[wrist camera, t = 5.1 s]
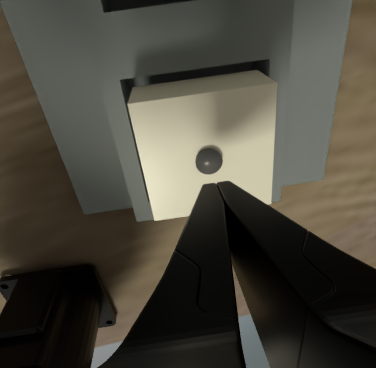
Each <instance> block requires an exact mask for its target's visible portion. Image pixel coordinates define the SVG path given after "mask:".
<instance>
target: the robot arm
mask: <svg viewBox="0 0 376 368" xmlns="http://www.w3.org/2000/svg"><path fill="white" fill-rule="evenodd" d="M232 265H233V268H234V270H235V273H236V276H237V278H238V281H239V284H240V287H241V289H242V292H243V295H244V297H245V300H246V303H247V306H248V308H249V311H250V314H251V316H252V319H253V322H254V324H255V327H256V330H257V333H258V335H259V338H260V341H261V343H262V346H263V349H264V351H265V354H266V357H267V360H268V362H269V365H270V368H376V269H375V268H373V267H371V266H369V265H367V264H366V263H364V262H362V261H360V260H358V259H356V258H354V257H352V256H351V255H349V254H347V253H345V252H343V251H341V250H339V249H338V248H336V247H334V246H333V245H331V244H329V243H328V242H326V241H324V240H323V239H321V238H319V237H318V236H316V235H315V234H313V233H312V232H310V231H308V232H307V229H305V228H303V227H302V226H300V225H299V224H297V223H296V222H294V221H292V220H291V219H289V218H288V217H286V216H284V215H283V214H281V213H280V212H278V211H277V210H275V209H273V208H272V207H270V206H269V205H267V204H266V203H264V202H262V201H261V200H259V199H258V198H256V197H254V196H253V195H251V194H250V193H248V192H247V191H245V190H243V189H242V188H240V187H239V186H237V185H236V184H234V183H232V182H231V181H222V182H217V184H216V183H208V184H203V185H202V187H201V189H200V192H199V194H198V196H197V199H196V201H195V203H194V206H193V208H192V210H191V213H190V215H189V218H188V220H187V222H186V225H185V227H184V229H183V232H182V234H181V236H180V239H179V241H178V243H177V246H176V248H175V251H174V252H173V255H172V257H171V259H170V262H169V264H168V266H167V268H166V270H165V272H164V274H163V276H162V278H161V280H160V282H159V283H158V285H157V287H156V289H155V290H154V292H153V294H152V295H151V297H150V299H149V300H148V302H147V303H146V305H145V307H144V308H143V310H142V312H141V313H140V315H139V316H138V318H137V320H136V321H135V323H134V325H133V326H132V328H131V329H130V331H129V333H128V334H127V336H126V338H125V339H124V341H123V342H122V344H121V345H120V346H119V347H118V349H117V350H116V351H115V352H114V353H113V355H112V356H111V357H110V358H109V359H108V360H107V361H106V362H104V363H103V364H102V365H100V366H99V367H98V368H246V364H245V359H244V354H243V349H242V344H241V337H240V329H239V322H238V312H237V304H236V296H235V287H234V279H233V270H232ZM0 292H1V294H2V295H3V297H4V298H5V299H6V301H7V302H6V304H5V306H4V308H3V310H2V312H1V313H0V368H91V363H92V358H93V353H94V347H95V342H96V337H97V332H98V328H101V327H108V326H113V325H115V323H116V315H115V312H114V310H113V307H112V305H111V303H110V300H109V298H108V296H107V293H106V291H105V289H104V286H103V284H102V282H101V279H100V277H99V274H98V272H97V270H96V268H95V267H94V266H93V265H80V266H73V267H66V268H60V269H53V270H46V271H39V272H32V273H26V274H19V275H12V276H5V277H1V278H0Z"/></svg>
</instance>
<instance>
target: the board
mask: <svg viewBox="0 0 376 368" xmlns="http://www.w3.org/2000/svg"><path fill="white" fill-rule="evenodd" d="M0 4H1V7H2V9H3V12H4V14H5V17H6V19H7V22H8V24H9V27H10V29H11V32H12V34H13V37H14V39H15V42H16V44H17V47H18V49H19V52H20V55H21V57H22V60H23V62H24V65H25V67H26V70H27V72H28V75H29V77H30V80H31V82H32V85H33V87H34V90H35V92H36V95H37V97H38V100H39V102H40V105H41V107H42V110H43V112H44V115H45V117H46V120H47V122H48V125H49V127H50V130H51V132H52V135H53V138H54V140H55V143H56V145H57V148H58V150H59V153H60V155H61V158H62V160H63V163H64V165H65V168H66V170H67V173H68V175H69V178H70V180H71V183H72V185H73V188H74V190H75V193H76V195H77V198H78V200H79V203H80V205H81V208H82V210H83V213H84V215H86V214H93V213H100V212H107V211H114V210H120V209H127V208H133V210H134V213H135V217H136V221H137V222H140V221H147V220H154V217H153V213H152V208H151V204H150V200H149V195H148V191H147V187H146V182H145V178H144V174H143V169H142V165H141V161H140V156H139V152H138V148H137V144H136V139H135V135H134V131H133V126H132V122H131V118H130V113H129V109H128V105H127V104H128V101H129V97H130V94H131V91H132V88H133V87H138V86H145V85H152V84H160V83H167V82H174V81H181V80H188V79H195V78H202V77H209V76H216V75H224V74H231V73H238V72H245V71H252V70H258V71H260V72H261V73H263V74H265V75H266V76H268V77H269V78H271V79H272V80H274V81H275V82H277V102H276V121H275V141H274V160H273V179H272V199H271V202H277V201H280V195H281V186H285V185H292V184H299V183H306V182H313V181H319V180H323V177H324V171H325V165H326V159H327V153H328V147H329V141H330V135H331V128H332V122H333V116H334V110H335V104H336V98H337V92H338V86H339V80H340V74H341V67H342V61H343V55H344V49H345V43H346V37H347V31H348V25H349V19H350V13H351V6H352V0H0Z"/></svg>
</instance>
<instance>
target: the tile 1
mask: <svg viewBox="0 0 376 368" xmlns="http://www.w3.org/2000/svg"><path fill="white" fill-rule="evenodd" d="M276 102H277V82H275V81H274V80H272V79H271V78H269V77H268V76H266V75H265V74H263V73H261V72H260V71H258V70H252V71H245V72H238V73H231V74H224V75H216V76H209V77H202V78H195V79H188V80H181V81H174V82H167V83H160V84H152V85H145V86H138V87H133V88H132V91H131V94H130V97H129V101H128V104H127V105H128V109H129V113H130V118H131V122H132V126H133V131H134V135H135V139H136V144H137V148H138V152H139V156H140V161H141V165H142V169H143V174H144V178H145V182H146V187H147V191H148V195H149V200H150V204H151V208H152V213H153V217H154V221H158V220H165V219H172V218H178V217H185V216H189V215H190V213H191V210H192V208H193V206H194V203H195V201H196V199H197V196H198V194H199V192H200V189H201V187H202V185H203V184H208V183H216V184H217V182H222V181H231V182H232V183H234V184H236V185H237V186H239V187H240V188H242V189H243V190H245V191H247V192H248V193H250V194H251V195H253V196H254V197H256V198H258V199H259V200H261V201H262V202H264V203H266V204H271V199H272V179H273V160H274V141H275V121H276Z"/></svg>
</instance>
